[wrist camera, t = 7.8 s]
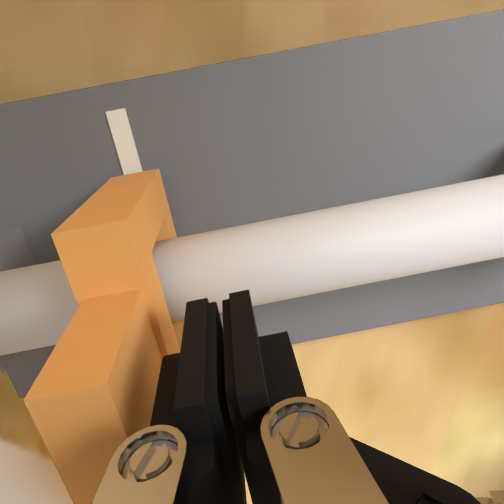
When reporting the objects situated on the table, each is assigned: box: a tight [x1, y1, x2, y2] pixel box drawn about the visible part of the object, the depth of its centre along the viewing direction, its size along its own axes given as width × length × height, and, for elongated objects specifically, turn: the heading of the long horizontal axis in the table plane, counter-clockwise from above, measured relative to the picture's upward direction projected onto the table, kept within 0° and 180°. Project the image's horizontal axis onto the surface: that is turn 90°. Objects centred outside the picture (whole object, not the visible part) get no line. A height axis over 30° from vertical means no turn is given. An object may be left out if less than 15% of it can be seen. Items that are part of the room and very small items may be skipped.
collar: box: [23, 168, 184, 504], centre depth 14 cm, size 2×7×11 cm, turn 10°
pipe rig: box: [0, 10, 504, 398], centre depth 18 cm, size 30×14×8 cm, turn 100°
